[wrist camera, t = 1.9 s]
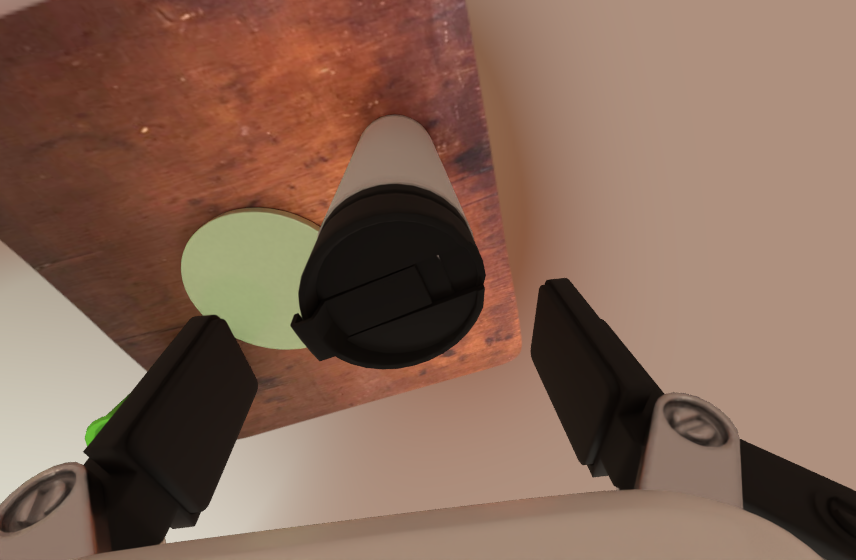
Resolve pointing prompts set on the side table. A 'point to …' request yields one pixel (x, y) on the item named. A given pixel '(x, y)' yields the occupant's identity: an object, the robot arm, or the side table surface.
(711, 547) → the robot arm
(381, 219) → the travel mug
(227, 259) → the trivet
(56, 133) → the side table surface
